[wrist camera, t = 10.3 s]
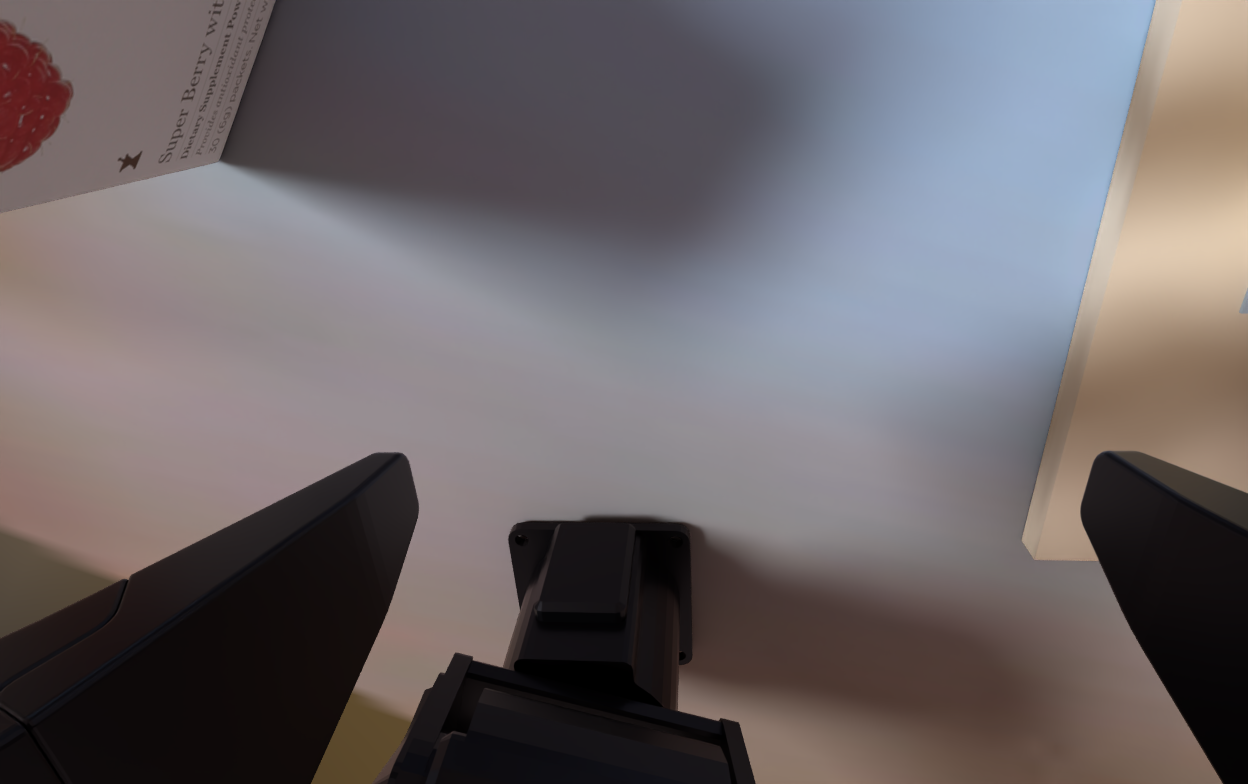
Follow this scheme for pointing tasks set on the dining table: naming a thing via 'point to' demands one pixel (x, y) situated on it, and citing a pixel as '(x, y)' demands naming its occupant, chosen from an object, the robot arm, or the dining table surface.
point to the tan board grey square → (1162, 281)
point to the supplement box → (117, 90)
